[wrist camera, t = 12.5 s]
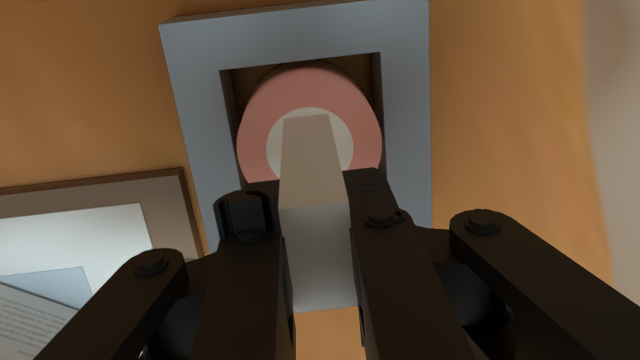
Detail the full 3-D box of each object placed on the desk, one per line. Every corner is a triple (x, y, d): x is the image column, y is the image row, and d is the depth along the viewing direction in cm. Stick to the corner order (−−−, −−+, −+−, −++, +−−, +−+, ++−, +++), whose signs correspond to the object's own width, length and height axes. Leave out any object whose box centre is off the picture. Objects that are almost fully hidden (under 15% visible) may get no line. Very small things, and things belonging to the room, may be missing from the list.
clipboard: (-219, 214, 21) (-252, 230, 20) (182, 167, 21) (175, 181, 20) (-84, 430, 26) (-104, 454, 25) (235, 392, 26) (232, 414, 25)
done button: (234, 67, 19) (223, 86, 16) (365, 52, 19) (378, 68, 16) (255, 186, 21) (249, 222, 18) (373, 172, 21) (386, 206, 18)
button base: (173, 17, 19) (157, 25, 16) (412, -11, 19) (428, -7, 16) (218, 226, 22) (210, 255, 20) (418, 203, 22) (432, 229, 20)
